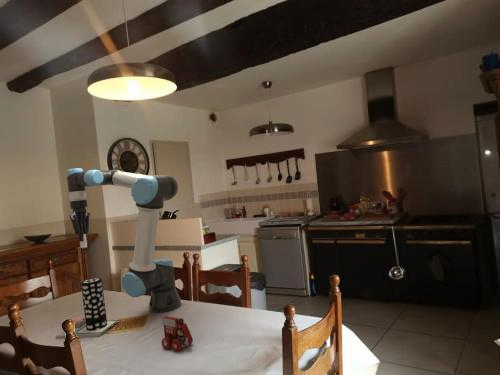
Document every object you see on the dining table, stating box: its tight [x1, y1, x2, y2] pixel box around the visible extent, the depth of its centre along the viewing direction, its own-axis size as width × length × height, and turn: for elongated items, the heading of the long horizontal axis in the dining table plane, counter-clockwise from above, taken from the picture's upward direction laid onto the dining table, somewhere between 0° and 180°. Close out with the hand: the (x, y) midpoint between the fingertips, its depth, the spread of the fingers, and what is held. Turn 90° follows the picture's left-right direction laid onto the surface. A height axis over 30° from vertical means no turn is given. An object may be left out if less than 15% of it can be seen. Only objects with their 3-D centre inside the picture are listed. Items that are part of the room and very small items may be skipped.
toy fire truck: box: [161, 315, 194, 353], centre depth 130 cm, size 7×12×10 cm, turn 56°
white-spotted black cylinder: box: [80, 277, 108, 331], centre depth 157 cm, size 8×8×20 cm
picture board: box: [55, 317, 120, 339], centre depth 157 cm, size 20×15×3 cm
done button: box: [73, 316, 84, 323], centre depth 161 cm, size 4×4×2 cm
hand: (84, 247), depth 181 cm, fingers closed
